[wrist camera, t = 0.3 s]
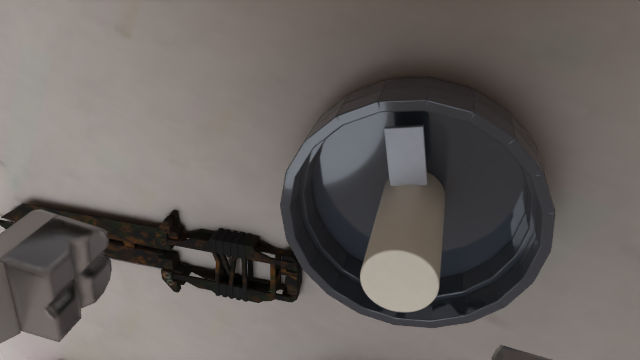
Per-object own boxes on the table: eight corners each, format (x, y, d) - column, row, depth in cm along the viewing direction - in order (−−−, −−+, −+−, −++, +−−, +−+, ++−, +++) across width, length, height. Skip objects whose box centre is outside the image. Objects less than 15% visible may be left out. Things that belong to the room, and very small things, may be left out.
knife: (3, 228, 41) (-10, 238, 40) (-13, 160, 38) (-29, 168, 37) (297, 312, 37) (292, 326, 36) (307, 244, 34) (301, 256, 33)
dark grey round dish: (323, 45, 27) (303, 66, 24) (589, 114, 26) (608, 147, 22) (285, 246, 35) (266, 283, 31) (490, 310, 33) (493, 357, 30)
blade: (374, 116, 28) (345, 185, 21) (440, 112, 27) (432, 183, 20) (391, 264, 32) (372, 360, 26) (448, 265, 31) (444, 366, 25)
